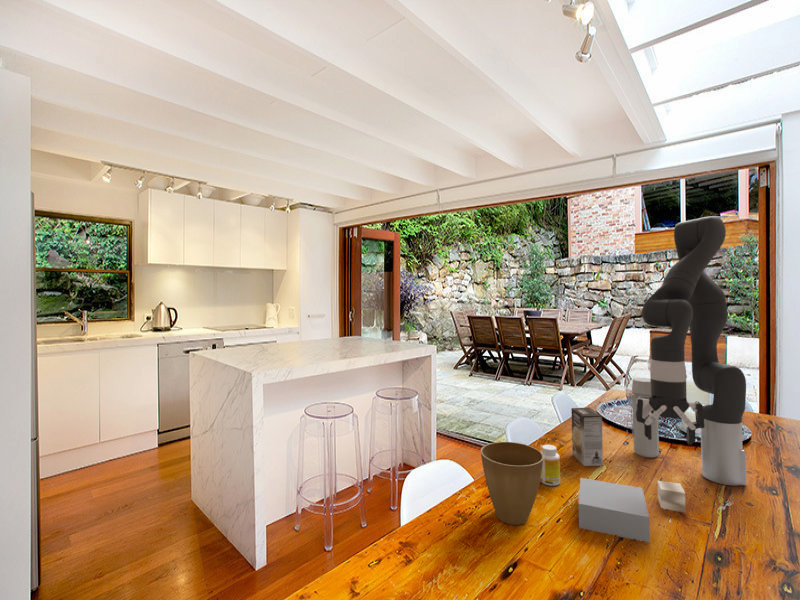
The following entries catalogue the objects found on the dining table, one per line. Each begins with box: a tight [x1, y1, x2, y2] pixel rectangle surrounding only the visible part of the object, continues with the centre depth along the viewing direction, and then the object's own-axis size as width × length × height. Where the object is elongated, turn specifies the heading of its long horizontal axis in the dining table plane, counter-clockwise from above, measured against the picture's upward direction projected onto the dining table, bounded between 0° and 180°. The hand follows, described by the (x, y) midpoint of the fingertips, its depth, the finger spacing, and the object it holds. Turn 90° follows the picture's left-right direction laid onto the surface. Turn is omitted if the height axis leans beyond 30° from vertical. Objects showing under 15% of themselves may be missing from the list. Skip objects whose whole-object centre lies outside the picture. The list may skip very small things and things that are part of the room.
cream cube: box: [657, 480, 687, 514], centre depth 99 cm, size 5×5×5 cm
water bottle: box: [626, 377, 660, 459], centre depth 130 cm, size 9×8×25 cm
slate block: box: [577, 477, 651, 543], centre depth 94 cm, size 14×14×6 cm
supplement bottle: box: [540, 444, 561, 487], centre depth 113 cm, size 6×6×10 cm
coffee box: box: [570, 407, 604, 467], centre depth 126 cm, size 9×6×16 cm
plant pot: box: [480, 441, 544, 526], centre depth 96 cm, size 15×15×16 cm
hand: (668, 441), depth 99 cm, fingers open, 8 cm apart
